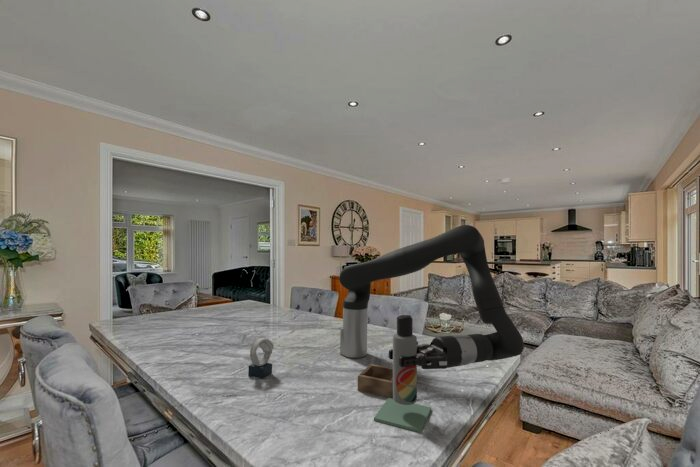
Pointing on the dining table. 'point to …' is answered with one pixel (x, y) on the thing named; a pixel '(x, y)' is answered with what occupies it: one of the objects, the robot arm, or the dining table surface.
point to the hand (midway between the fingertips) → (394, 358)
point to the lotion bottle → (404, 375)
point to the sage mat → (403, 415)
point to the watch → (261, 367)
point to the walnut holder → (376, 380)
